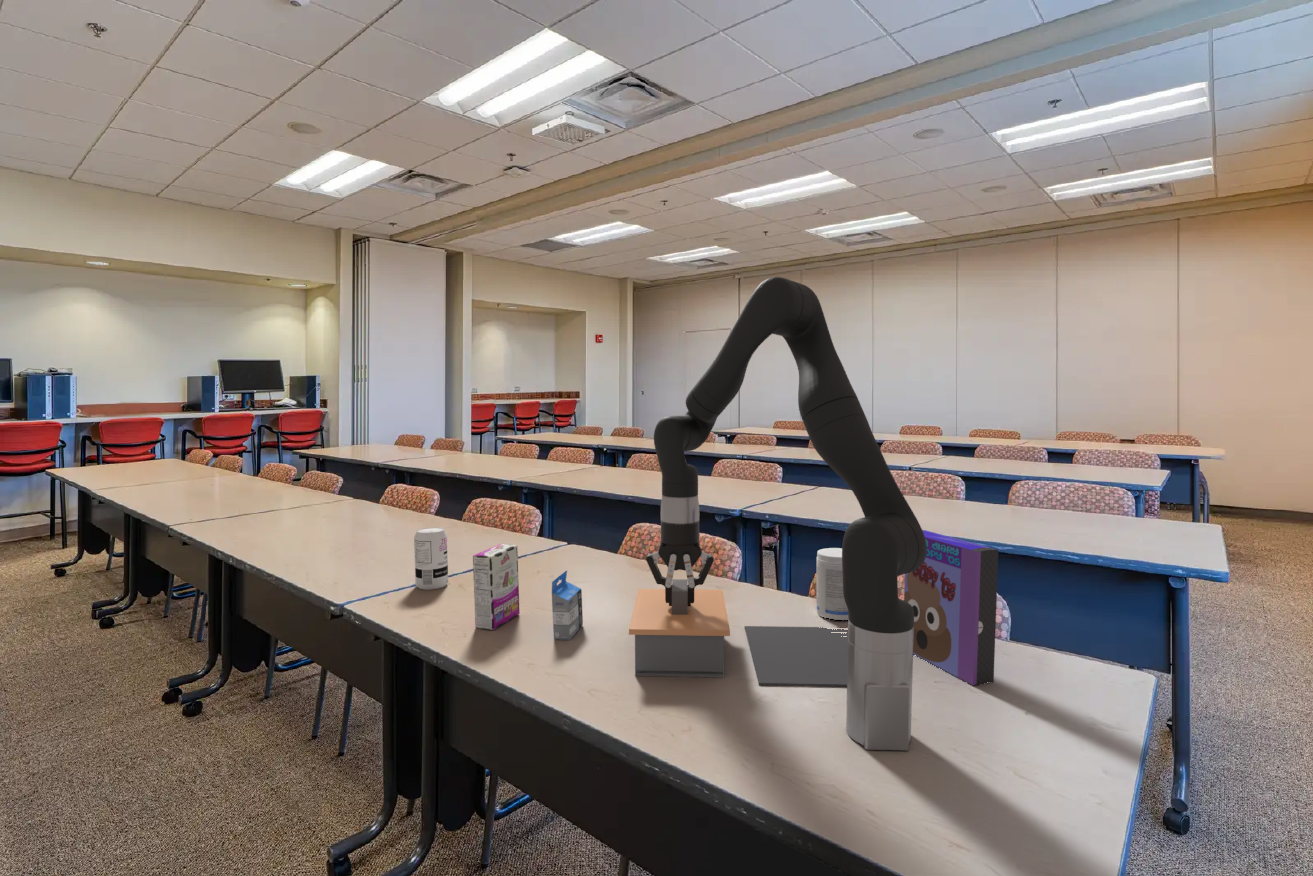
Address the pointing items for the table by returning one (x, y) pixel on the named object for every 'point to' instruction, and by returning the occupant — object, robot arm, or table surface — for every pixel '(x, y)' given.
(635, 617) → the lid
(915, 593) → the cereal box
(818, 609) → the supplement tub
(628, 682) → the table surface
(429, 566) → the supplement can
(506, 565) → the candy bar box
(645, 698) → the table surface
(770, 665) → the rubber mat
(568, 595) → the label tape box
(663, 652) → the storage box
